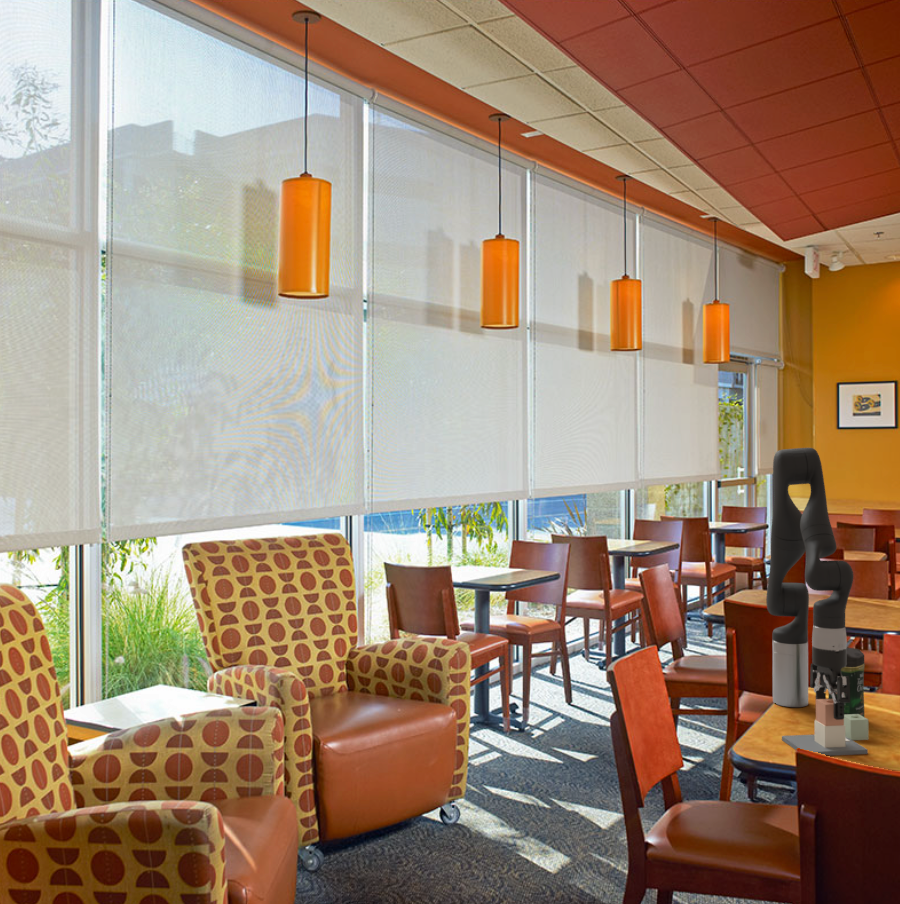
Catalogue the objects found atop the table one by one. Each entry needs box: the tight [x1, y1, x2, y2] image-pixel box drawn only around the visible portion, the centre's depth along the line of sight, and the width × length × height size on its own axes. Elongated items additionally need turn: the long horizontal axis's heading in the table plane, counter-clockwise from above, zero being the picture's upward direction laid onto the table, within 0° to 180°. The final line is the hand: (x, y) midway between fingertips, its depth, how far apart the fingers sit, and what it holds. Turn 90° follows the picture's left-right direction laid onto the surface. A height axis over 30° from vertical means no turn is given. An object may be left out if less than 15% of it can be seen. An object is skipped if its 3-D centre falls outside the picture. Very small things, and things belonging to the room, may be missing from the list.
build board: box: [781, 719, 869, 757], centre depth 220 cm, size 12×15×6 cm
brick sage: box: [844, 714, 869, 741], centre depth 227 cm, size 4×4×5 cm
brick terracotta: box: [815, 698, 844, 726], centre depth 219 cm, size 4×4×5 cm
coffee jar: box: [827, 647, 866, 717], centre depth 240 cm, size 10×8×19 cm
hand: (829, 713), depth 219 cm, fingers open, 8 cm apart
